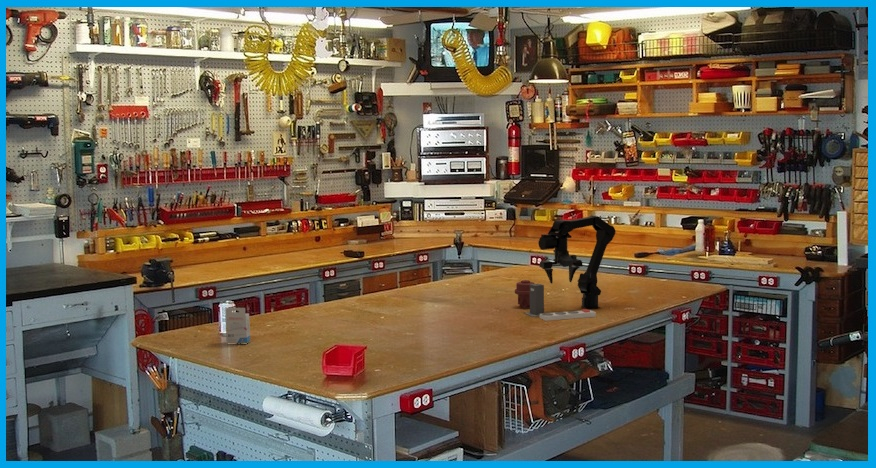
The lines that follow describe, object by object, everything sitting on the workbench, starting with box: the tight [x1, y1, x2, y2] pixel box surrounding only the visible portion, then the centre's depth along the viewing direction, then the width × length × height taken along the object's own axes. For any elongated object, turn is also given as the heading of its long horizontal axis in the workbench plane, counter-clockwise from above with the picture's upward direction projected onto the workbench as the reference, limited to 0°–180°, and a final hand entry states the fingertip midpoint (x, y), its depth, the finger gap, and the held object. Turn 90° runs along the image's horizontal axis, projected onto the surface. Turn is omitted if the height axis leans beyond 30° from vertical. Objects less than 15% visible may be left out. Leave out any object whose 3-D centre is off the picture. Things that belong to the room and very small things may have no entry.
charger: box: [529, 283, 545, 315], centre depth 455 cm, size 5×4×13 cm
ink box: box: [225, 307, 251, 344], centre depth 406 cm, size 8×5×15 cm, turn 83°
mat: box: [524, 311, 540, 318], centre depth 456 cm, size 8×8×1 cm
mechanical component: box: [514, 279, 536, 310], centre depth 473 cm, size 12×10×10 cm
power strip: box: [539, 308, 597, 322], centre depth 448 cm, size 24×6×3 cm, turn 107°
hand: (561, 282), depth 461 cm, fingers open, 9 cm apart
